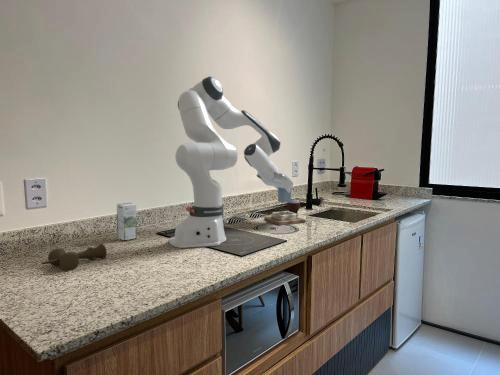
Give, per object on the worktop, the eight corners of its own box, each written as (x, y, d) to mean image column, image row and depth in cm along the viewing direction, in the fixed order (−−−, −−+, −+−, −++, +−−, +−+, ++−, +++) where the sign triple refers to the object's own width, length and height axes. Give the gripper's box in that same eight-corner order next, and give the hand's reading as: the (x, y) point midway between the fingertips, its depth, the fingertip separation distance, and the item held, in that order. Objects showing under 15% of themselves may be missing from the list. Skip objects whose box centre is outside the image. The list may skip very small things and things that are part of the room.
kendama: (111, 262, 126) (49, 276, 110) (96, 257, 132) (35, 270, 116) (111, 244, 125) (48, 256, 110) (96, 240, 131) (34, 251, 116)
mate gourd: (302, 214, 207) (302, 187, 206) (291, 215, 203) (291, 188, 201) (293, 212, 213) (293, 186, 212) (282, 213, 209) (282, 186, 207)
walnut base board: (279, 225, 179) (279, 217, 179) (264, 219, 192) (264, 212, 192) (305, 222, 186) (305, 214, 185) (289, 217, 199) (289, 209, 198)
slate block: (283, 202, 185) (283, 182, 184) (278, 201, 189) (278, 181, 188) (290, 201, 187) (291, 181, 186) (285, 200, 191) (285, 181, 190)
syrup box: (130, 236, 157) (129, 202, 156) (137, 239, 153) (136, 203, 152) (117, 239, 153) (116, 203, 152) (124, 241, 149) (122, 205, 148)
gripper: (286, 168, 174) (302, 188, 180) (261, 166, 191) (277, 184, 197) (278, 178, 172) (294, 198, 178) (254, 175, 189) (270, 193, 195)
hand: (285, 191), depth 188 cm, fingers closed on slate block, 4 cm apart
